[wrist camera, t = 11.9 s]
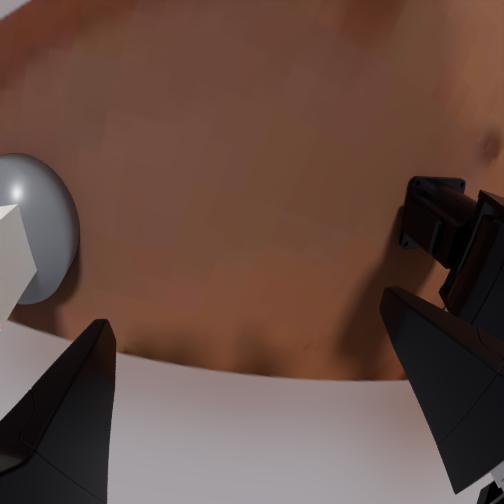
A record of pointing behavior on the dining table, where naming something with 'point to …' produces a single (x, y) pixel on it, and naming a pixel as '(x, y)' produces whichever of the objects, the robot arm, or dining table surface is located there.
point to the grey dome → (41, 220)
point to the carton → (13, 260)
